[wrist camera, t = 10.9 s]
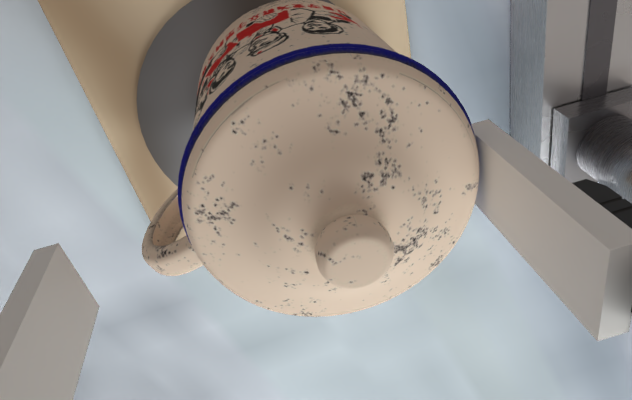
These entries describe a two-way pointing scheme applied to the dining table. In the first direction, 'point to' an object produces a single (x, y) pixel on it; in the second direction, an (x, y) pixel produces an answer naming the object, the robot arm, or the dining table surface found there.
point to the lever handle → (595, 141)
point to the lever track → (564, 61)
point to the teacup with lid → (316, 166)
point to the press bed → (165, 71)
